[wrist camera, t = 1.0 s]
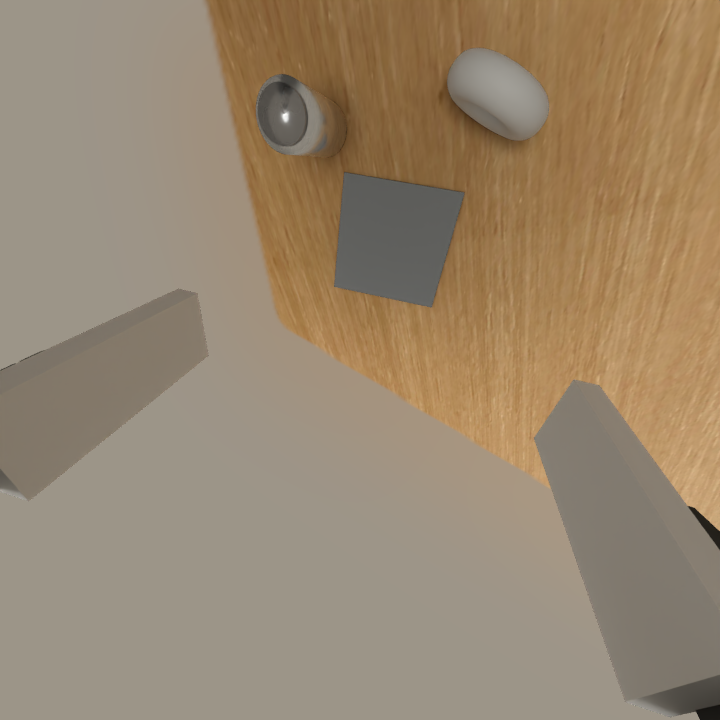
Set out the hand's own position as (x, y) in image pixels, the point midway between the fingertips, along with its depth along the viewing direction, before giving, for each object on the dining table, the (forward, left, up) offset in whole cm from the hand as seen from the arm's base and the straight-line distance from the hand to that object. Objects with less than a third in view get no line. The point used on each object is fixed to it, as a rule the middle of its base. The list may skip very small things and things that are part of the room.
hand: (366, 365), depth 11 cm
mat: (+3, -3, -34) cm, 35 cm away
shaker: (-8, -14, -34) cm, 38 cm away
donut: (-12, +4, -34) cm, 37 cm away
